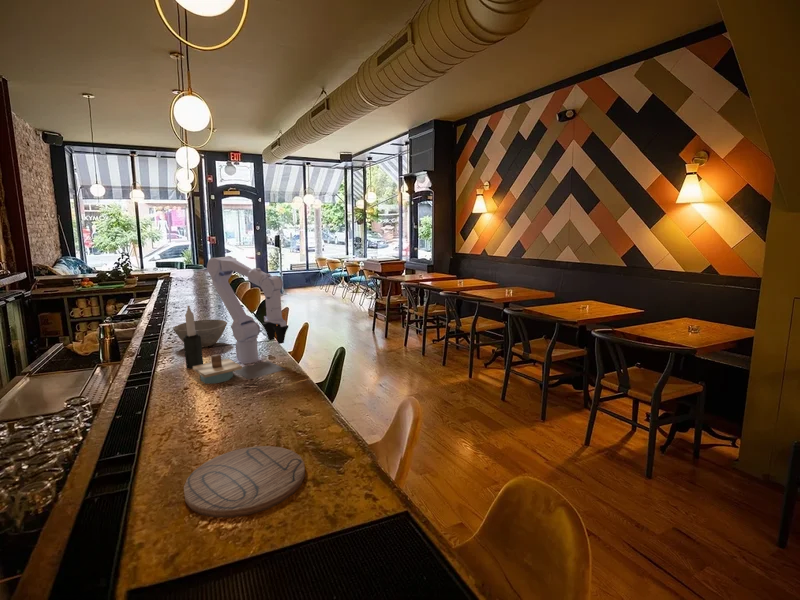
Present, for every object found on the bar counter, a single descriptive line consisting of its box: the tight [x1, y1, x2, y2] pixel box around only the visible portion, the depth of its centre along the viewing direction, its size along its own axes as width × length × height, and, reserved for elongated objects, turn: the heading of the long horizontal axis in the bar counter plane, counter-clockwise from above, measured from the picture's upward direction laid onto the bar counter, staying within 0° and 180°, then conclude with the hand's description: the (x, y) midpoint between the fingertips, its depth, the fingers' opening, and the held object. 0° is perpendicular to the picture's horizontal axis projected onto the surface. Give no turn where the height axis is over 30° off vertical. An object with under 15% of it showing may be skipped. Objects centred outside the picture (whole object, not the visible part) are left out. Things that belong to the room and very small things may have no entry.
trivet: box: [183, 445, 306, 518], centre depth 99 cm, size 25×25×2 cm
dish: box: [199, 371, 234, 384], centre depth 163 cm, size 10×10×4 cm
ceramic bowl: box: [172, 319, 228, 348], centre depth 209 cm, size 22×23×10 cm
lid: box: [192, 353, 243, 378], centre depth 163 cm, size 13×13×5 cm
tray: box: [233, 360, 287, 380], centre depth 172 cm, size 15×15×1 cm
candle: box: [182, 305, 204, 370], centre depth 175 cm, size 5×5×25 cm
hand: (276, 341), depth 178 cm, fingers open, 7 cm apart
